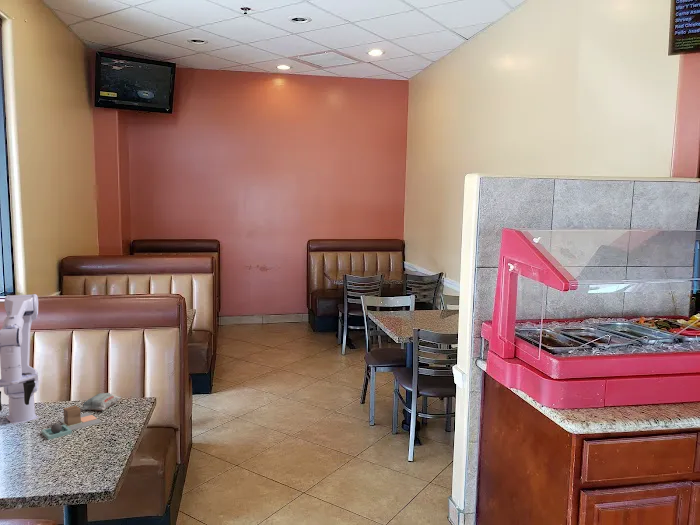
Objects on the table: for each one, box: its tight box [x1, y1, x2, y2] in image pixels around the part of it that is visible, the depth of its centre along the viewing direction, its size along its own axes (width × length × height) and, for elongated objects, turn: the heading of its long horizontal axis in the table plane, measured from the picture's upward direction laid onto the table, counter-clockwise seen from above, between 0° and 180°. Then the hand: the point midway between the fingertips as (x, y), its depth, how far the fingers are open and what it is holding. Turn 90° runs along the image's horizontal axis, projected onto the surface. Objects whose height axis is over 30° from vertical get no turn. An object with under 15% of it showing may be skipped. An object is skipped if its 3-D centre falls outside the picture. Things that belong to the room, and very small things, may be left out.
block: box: [63, 405, 81, 426], centre depth 188 cm, size 4×4×5 cm
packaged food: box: [82, 392, 122, 412], centre depth 204 cm, size 9×12×5 cm
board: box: [58, 412, 103, 431], centre depth 190 cm, size 12×10×1 cm
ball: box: [50, 423, 62, 434], centre depth 180 cm, size 3×3×3 cm
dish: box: [41, 424, 73, 440], centre depth 180 cm, size 7×7×2 cm
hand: (13, 406), depth 178 cm, fingers open, 7 cm apart
